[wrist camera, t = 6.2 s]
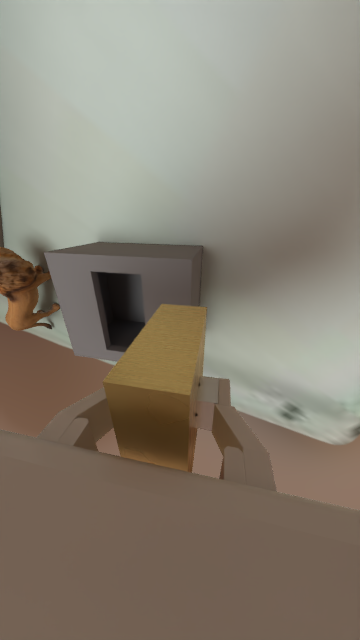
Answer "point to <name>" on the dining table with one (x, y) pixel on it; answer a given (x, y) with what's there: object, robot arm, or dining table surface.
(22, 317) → the lion figurine
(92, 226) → the dining table surface
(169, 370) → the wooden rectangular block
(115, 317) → the money box
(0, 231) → the chess set
